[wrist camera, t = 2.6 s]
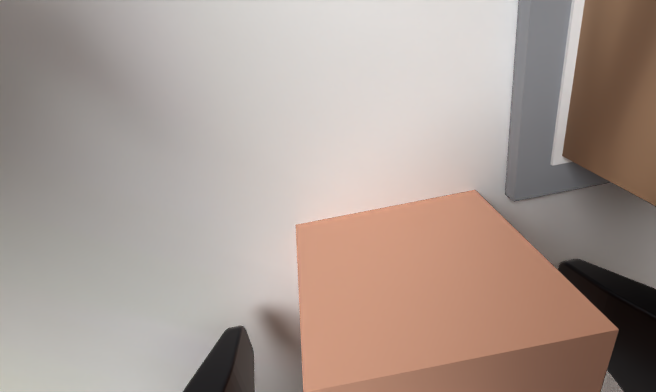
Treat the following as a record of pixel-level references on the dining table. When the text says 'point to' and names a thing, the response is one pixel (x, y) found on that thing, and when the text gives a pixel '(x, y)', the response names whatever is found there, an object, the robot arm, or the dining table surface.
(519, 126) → the gray square frame
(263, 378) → the dining table surface
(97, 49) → the dining table surface
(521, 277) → the cube
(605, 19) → the base block
